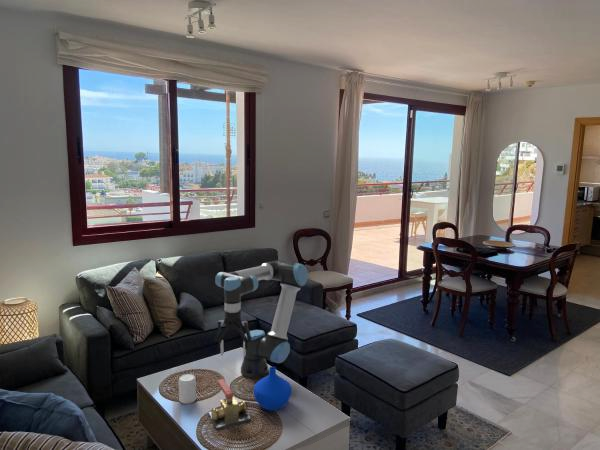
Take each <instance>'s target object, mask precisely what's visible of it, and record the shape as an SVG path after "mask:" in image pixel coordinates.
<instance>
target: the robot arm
mask: <svg viewBox="0 0 600 450" xmlns="http://www.w3.org/2000/svg"><path fill="white" fill-rule="evenodd" d="M308 278H309V273H308V269H307V267H306V265H304V264H302V263H300V262H292V261H288V260H287V261H286V260H273V261H267V262H264V263H261V265H258V266H254V267H250V268H245V269H241V270H235V271H231V272H225V271H220V272H218V273H217V274H216V275H215V278H214V279H215V280H214V282H215V285H216V286H217V287H220V288H222V289H223V294H224V319H222V320H221V319H219V320H218V321H217V325H218V326H217V330H216V332H215V336H214V342H218V345H217V346H218V349H220V356H222V357H223V356H224V353H225V352H224V350H225V349H224V340H223V339H224V337H225V335H226V334H227V333H228V330H230V331H231V330H234V331H237V332H238V334H239V335H240V337H241V339H242V341H243V344H242V351H243V352H242V354H243V355H242V356H243V362H242V363H241V366H240V373H241V375H242V376H243V377H245V378H248V379H249V378H250V379H257V378H258V379H259V378H262V377H265V376H266V375H268V374H269V373H268V372H269V367H268V363H267V361H268V362H271V363H276V364H281V363H283V362H284V361H285V360H286V359H288V357H289V356H288V355H289V354H290V352H291V346H290V343H289V342H288V341H289V337H288V334H287V332H288V330H289V326H290V321H291V318H292V314H293V309H294V305H295V301H296V297H297V293H298V292H299V291H300V290H301V289H302V287H303V286H305V285H306V284H307V281H308ZM261 280H265V281H271V280H273V281H278V282H280V286H281V291H280V293H279V299H278V302H277V306H276V310H275V313H274V318H273V322H272V325H271V330H270V331H268V332H267V334H266V332H265V331H264V330H261V329H253V330H250V328H249V325H248V323H249V322H248V320H245V321H244V320H242V311H241V309H242V301H241V300H242V299H241V297H242V296H244V295H246V294H249V293H252V292H255V291H256V290H257V289H258V287H259V281H261ZM223 325H225V329H224V330H223V332H222V334H221V335H220V333H221V329H222V326H223ZM241 325H242V326H243V327H244V331H243V329H242V326H241ZM219 335H220V337H219Z"/></svg>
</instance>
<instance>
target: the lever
mask: <svg viewBox="0 0 600 450" xmlns="http://www.w3.org/2000/svg"><path fill="white" fill-rule="evenodd" d="M217 384H218V386H219V388H220V389H221V391H222V393H224V396H225V397H224V398H225V399H226V398H232V397H234V392H233V390H231V388H230V387H229V385H228V384H227V382H226V380H225V379H224V378H221V379H218V380H217Z"/></svg>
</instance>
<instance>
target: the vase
mask: <svg viewBox="0 0 600 450" xmlns="http://www.w3.org/2000/svg"><path fill="white" fill-rule="evenodd" d="M276 372H277V370H276V367H275V366H270V367H269V373H268V374H267V376H266V375H265V376H264V377H263V378H261V379H260V380H258V381H257V382H256V383H255V385H254V387H253V395H254V399H255V401H256V403H257V405H259V406H260V407H261V408H262V409H264V410H267V411H279V410H280V409H282V408H284V407H285V406H286V405H287V403H288V402H289V401H290V398H291V396H292V385H291V384H290V381H288V380H287V379H285V378H282V377H281V376H279V375H278V374H277V373H276Z"/></svg>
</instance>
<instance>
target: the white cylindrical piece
mask: <svg viewBox="0 0 600 450" xmlns="http://www.w3.org/2000/svg"><path fill="white" fill-rule="evenodd" d="M196 382H197V381H196V377H195V375H194V374H192V373H186V374H183V375H180V376H179V379H178V400H179V402H180V403H181V404H185V405H187V404H192V403H194V402H195V401H196V399H197V385H196V384H197V383H196Z"/></svg>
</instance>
